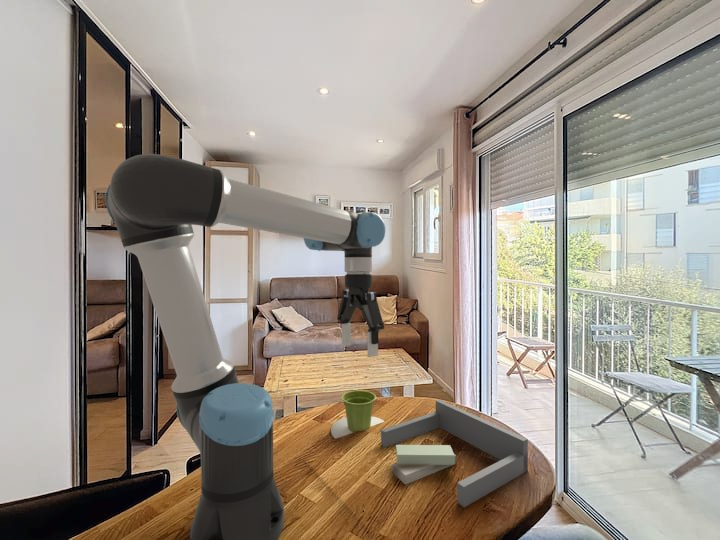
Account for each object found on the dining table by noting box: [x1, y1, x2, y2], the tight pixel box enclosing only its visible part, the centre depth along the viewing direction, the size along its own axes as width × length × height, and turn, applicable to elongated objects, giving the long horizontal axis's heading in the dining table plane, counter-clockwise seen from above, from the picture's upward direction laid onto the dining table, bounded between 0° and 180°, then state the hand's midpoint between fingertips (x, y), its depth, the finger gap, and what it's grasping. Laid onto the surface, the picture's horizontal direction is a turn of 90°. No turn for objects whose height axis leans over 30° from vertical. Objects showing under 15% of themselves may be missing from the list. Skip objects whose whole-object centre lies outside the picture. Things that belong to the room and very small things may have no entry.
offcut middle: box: [391, 453, 457, 486], centre depth 72 cm, size 4×14×2 cm, turn 120°
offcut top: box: [395, 444, 456, 466], centre depth 73 cm, size 4×12×2 cm, turn 88°
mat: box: [330, 416, 385, 440], centre depth 92 cm, size 16×16×1 cm
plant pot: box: [341, 389, 377, 433], centre depth 92 cm, size 9×9×9 cm
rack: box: [380, 399, 529, 508], centre depth 77 cm, size 20×26×8 cm
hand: (358, 350), depth 92 cm, fingers open, 13 cm apart
